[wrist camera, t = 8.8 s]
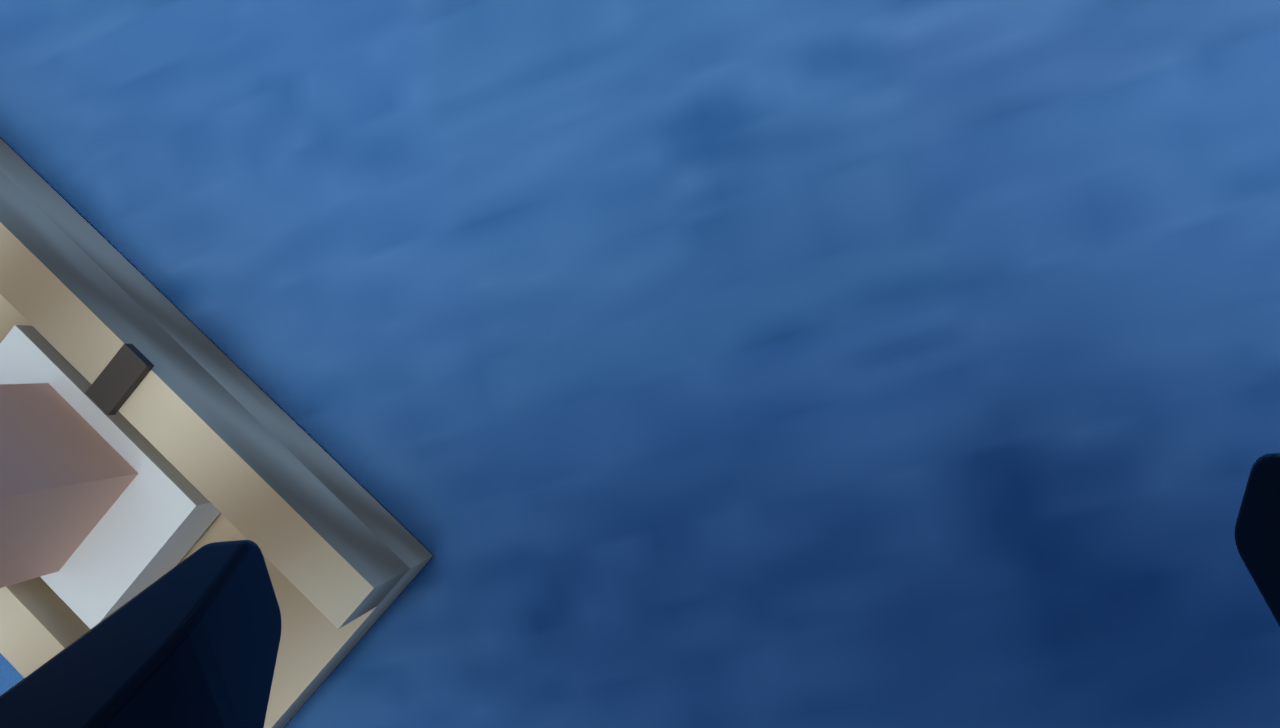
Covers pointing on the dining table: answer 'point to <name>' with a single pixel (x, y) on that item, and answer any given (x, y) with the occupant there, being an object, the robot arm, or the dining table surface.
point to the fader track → (195, 446)
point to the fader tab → (83, 488)
